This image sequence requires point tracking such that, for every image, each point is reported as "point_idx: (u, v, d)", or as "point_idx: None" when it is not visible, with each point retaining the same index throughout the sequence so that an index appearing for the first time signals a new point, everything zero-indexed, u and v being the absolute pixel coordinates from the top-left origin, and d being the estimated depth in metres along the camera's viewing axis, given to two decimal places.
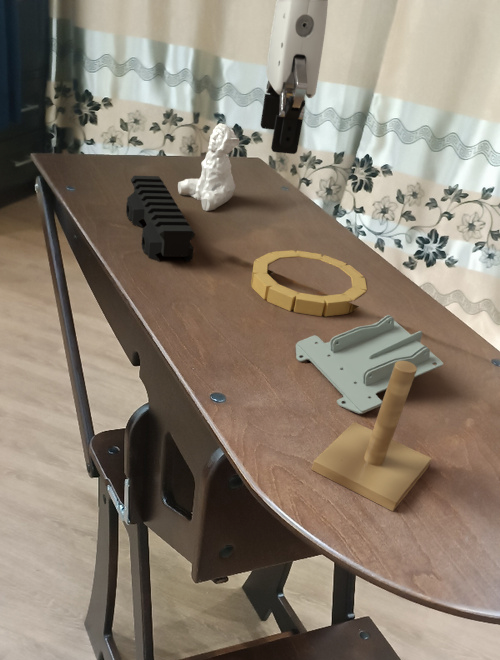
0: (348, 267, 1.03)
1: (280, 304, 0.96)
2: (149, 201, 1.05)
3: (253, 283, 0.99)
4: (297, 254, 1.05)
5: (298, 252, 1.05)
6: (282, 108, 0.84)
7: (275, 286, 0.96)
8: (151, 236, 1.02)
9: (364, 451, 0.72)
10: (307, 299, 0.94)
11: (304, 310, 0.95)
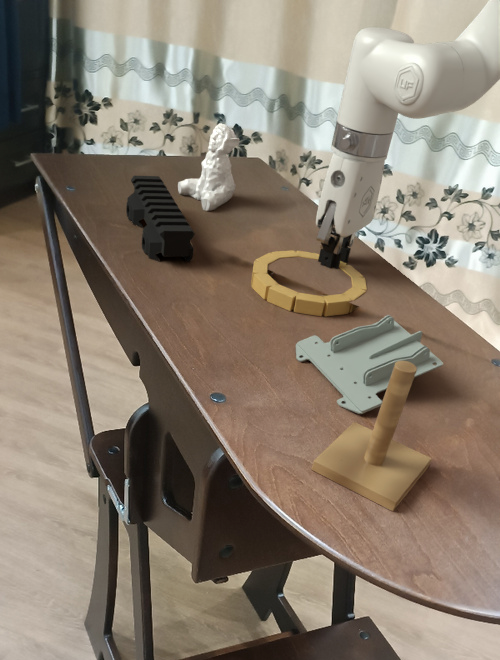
0: (348, 267, 1.03)
1: (280, 304, 0.96)
2: (149, 201, 1.05)
3: (253, 283, 0.99)
4: (297, 254, 1.05)
5: (298, 252, 1.05)
6: (321, 244, 1.01)
7: (275, 286, 0.96)
8: (151, 236, 1.02)
9: (364, 451, 0.72)
10: (307, 299, 0.94)
11: (304, 310, 0.95)
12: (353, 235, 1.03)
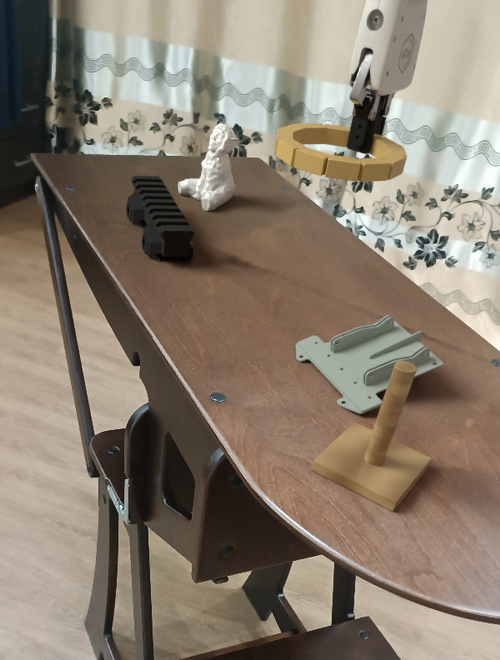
0: (383, 138, 0.91)
1: (309, 169, 0.84)
2: (149, 201, 1.05)
3: (277, 150, 0.87)
4: (325, 126, 0.93)
5: (326, 125, 0.93)
6: (353, 110, 0.89)
7: (303, 149, 0.84)
8: (151, 236, 1.02)
9: (364, 451, 0.72)
10: (341, 160, 0.82)
11: (337, 174, 0.83)
12: (389, 101, 0.91)
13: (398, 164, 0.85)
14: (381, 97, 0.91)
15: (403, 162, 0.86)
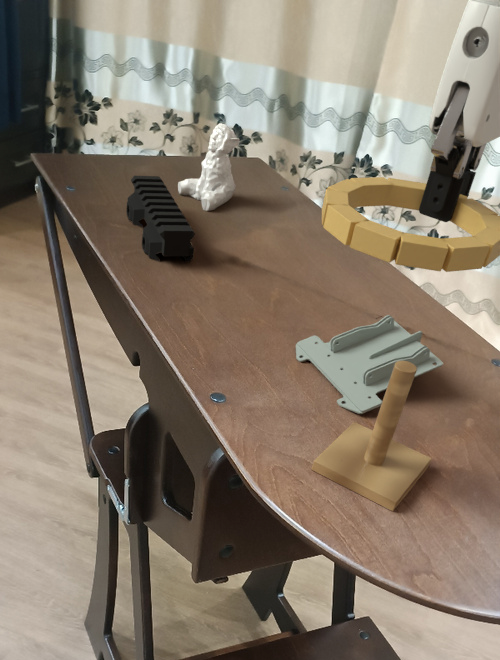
0: (471, 202, 0.66)
1: (372, 252, 0.59)
2: (149, 201, 1.05)
3: (326, 221, 0.62)
4: (389, 182, 0.68)
5: (391, 180, 0.68)
6: (432, 163, 0.64)
7: (365, 223, 0.59)
8: (151, 236, 1.02)
9: (364, 451, 0.72)
10: (420, 242, 0.57)
11: (413, 261, 0.58)
12: (481, 151, 0.66)
13: (497, 245, 0.60)
14: None
15: None
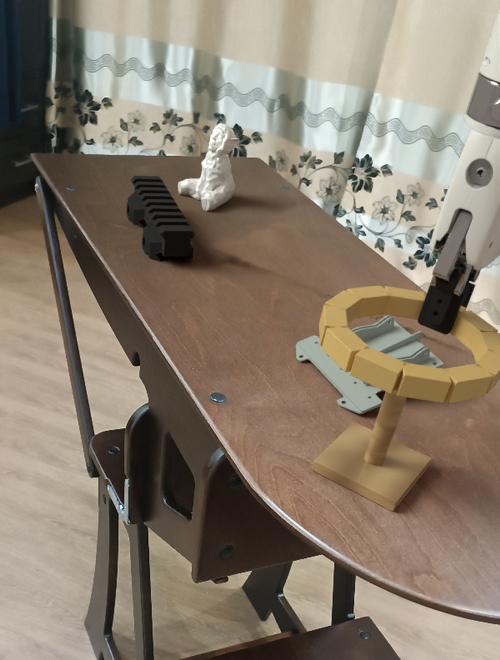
0: (470, 315, 0.65)
1: (373, 382, 0.57)
2: (149, 201, 1.05)
3: (325, 343, 0.60)
4: (387, 292, 0.66)
5: (388, 289, 0.67)
6: (432, 279, 0.63)
7: (365, 351, 0.57)
8: (152, 236, 1.02)
9: (364, 451, 0.72)
10: (422, 376, 0.56)
11: (415, 393, 0.57)
12: None
13: None
14: None
15: None
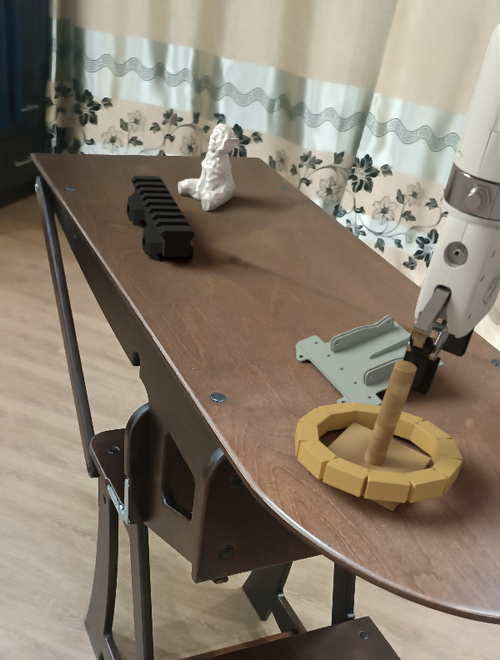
0: (427, 425, 0.74)
1: (343, 487, 0.65)
2: (149, 201, 1.05)
3: (300, 455, 0.69)
4: (353, 407, 0.76)
5: (355, 405, 0.76)
6: (410, 341, 0.65)
7: (334, 461, 0.66)
8: (152, 236, 1.02)
9: (364, 451, 0.72)
10: (385, 481, 0.64)
11: (380, 495, 0.65)
12: None
13: (454, 474, 0.67)
14: None
15: (459, 468, 0.68)
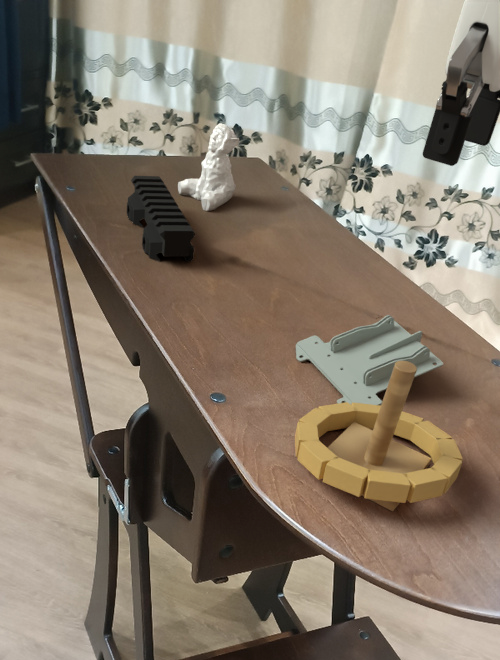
0: (427, 425, 0.74)
1: (343, 487, 0.65)
2: (150, 201, 1.05)
3: (300, 455, 0.69)
4: (353, 407, 0.76)
5: (355, 405, 0.76)
6: (440, 96, 0.60)
7: (334, 461, 0.66)
8: (152, 236, 1.02)
9: (364, 451, 0.72)
10: (385, 481, 0.64)
11: (380, 495, 0.65)
12: None
13: (454, 474, 0.67)
14: None
15: (459, 468, 0.68)
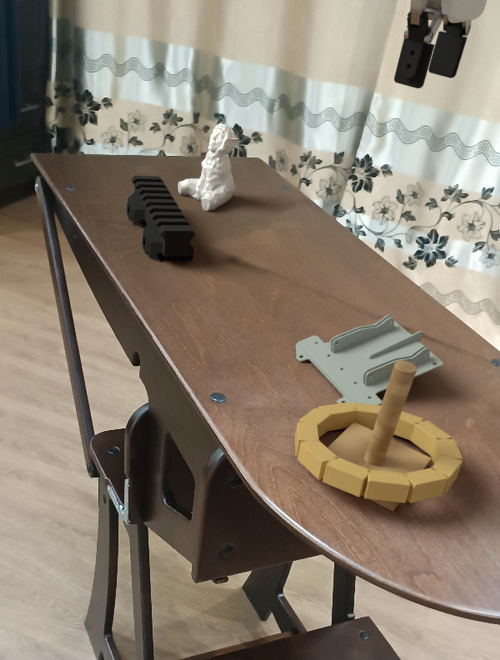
0: (427, 425, 0.74)
1: (343, 487, 0.65)
2: (150, 201, 1.05)
3: (300, 455, 0.69)
4: (353, 407, 0.76)
5: (355, 405, 0.76)
6: (407, 27, 0.72)
7: (334, 461, 0.66)
8: (152, 236, 1.02)
9: (364, 451, 0.72)
10: (385, 481, 0.64)
11: (380, 495, 0.65)
12: (468, 21, 0.78)
13: (454, 474, 0.67)
14: None
15: (459, 468, 0.68)
